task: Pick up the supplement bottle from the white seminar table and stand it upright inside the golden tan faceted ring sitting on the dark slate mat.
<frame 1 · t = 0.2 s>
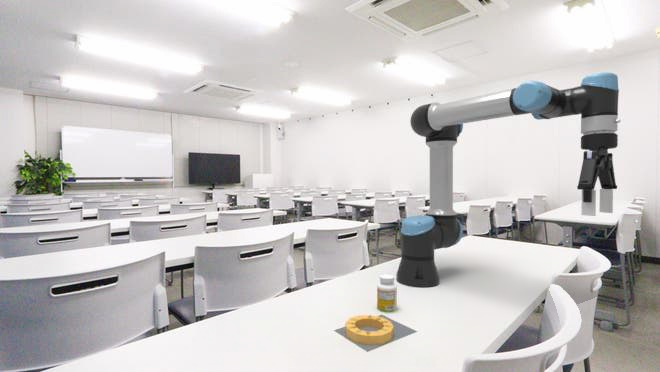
hand: (597, 214, 86), 28 cm above the table, fingers open, 13 cm apart
slate mat: (375, 332, 78), on the table
golden tan faceted ring: (369, 333, 77), resting on slate mat
supplement bottle: (386, 311, 92), on the table
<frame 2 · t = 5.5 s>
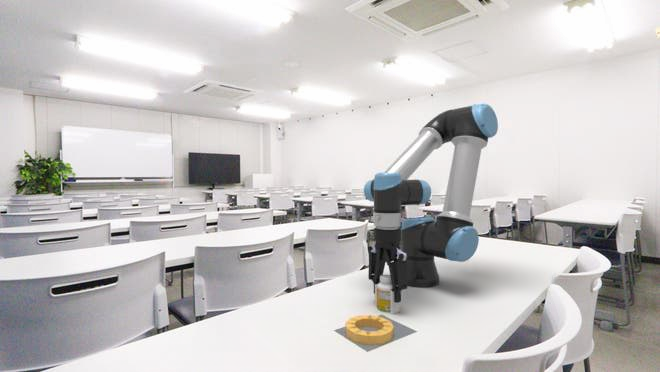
hand: (386, 309, 92), 0 cm above the table, fingers closed on supplement bottle, 5 cm apart
supplement bottle: (386, 311, 92), on the table, touching gripper
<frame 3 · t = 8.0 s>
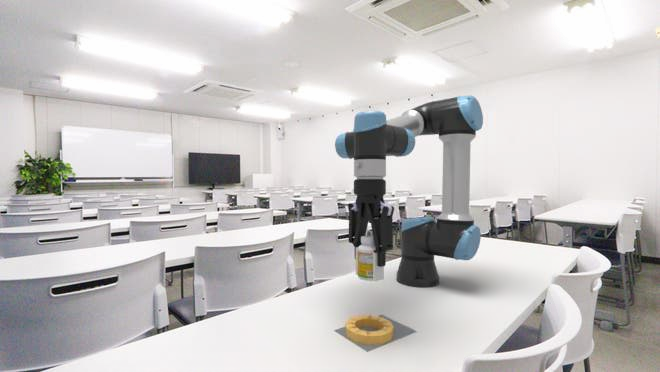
hand: (369, 276, 77), 14 cm above the table, fingers closed on supplement bottle, 5 cm apart
supplement bottle: (369, 278, 77), point 13 cm above the table, touching gripper
when the fingers open (3 cm above the table, at t = 10.5 s): supplement bottle drops 2 cm, resting on slate mat.
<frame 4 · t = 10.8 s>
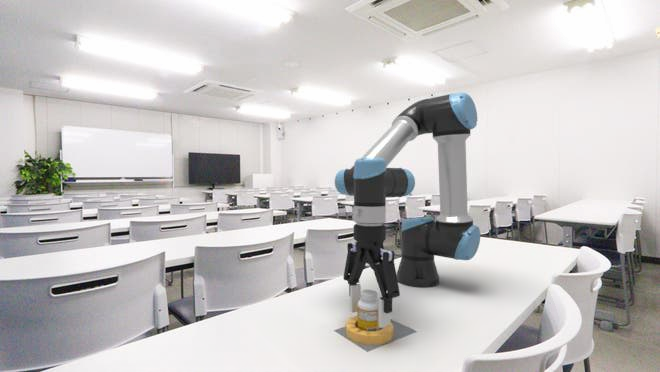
hand: (369, 318, 77), 4 cm above the table, fingers open, 9 cm apart
supplement bottle: (368, 333, 77), resting on slate mat
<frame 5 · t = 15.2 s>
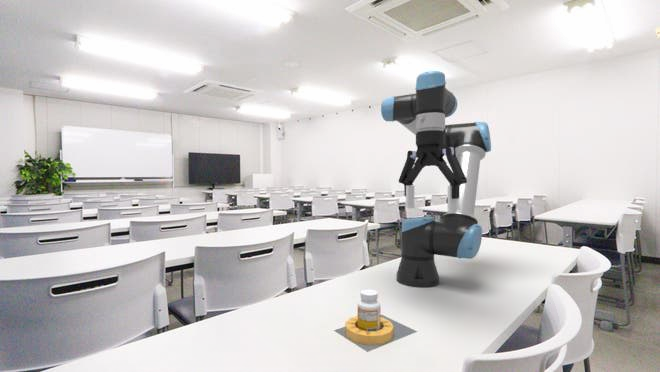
hand: (429, 210, 88), 29 cm above the table, fingers open, 13 cm apart
nothing on the table moved.
at the end: supplement bottle 0.1 cm from the golden tan faceted ring (horizontally); supplement bottle tilted 0°; supplement bottle resting on slate mat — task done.
